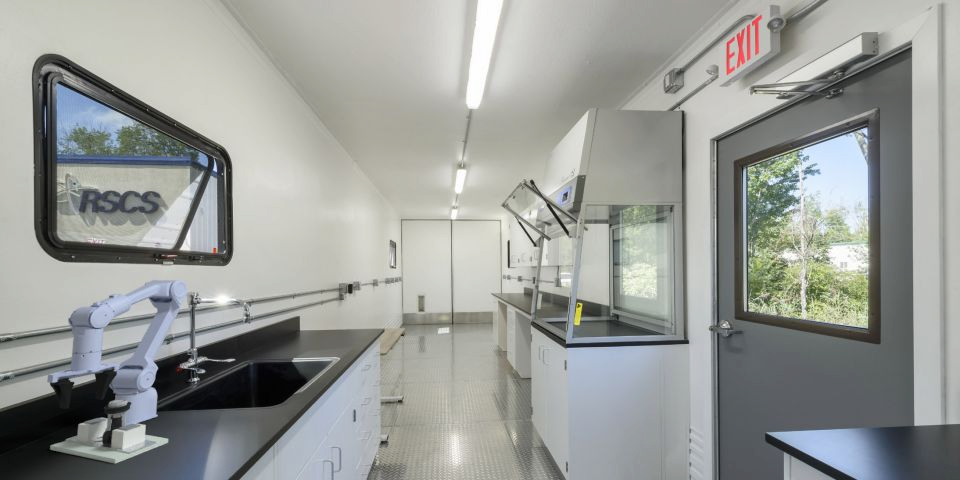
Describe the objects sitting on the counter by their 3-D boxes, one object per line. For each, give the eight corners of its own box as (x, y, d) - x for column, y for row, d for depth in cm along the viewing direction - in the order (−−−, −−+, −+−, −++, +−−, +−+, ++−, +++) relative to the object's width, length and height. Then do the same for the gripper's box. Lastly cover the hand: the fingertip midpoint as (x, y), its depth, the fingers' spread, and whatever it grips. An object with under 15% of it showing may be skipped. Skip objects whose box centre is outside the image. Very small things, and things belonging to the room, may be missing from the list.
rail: (93, 431, 109) (93, 430, 109) (156, 443, 102) (156, 441, 102) (65, 440, 103) (65, 439, 103) (129, 453, 96) (130, 451, 96)
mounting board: (106, 431, 112) (106, 427, 112) (168, 442, 105) (168, 438, 105) (50, 449, 100) (50, 445, 100) (115, 463, 93) (115, 459, 94)
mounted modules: (100, 432, 108) (101, 416, 108) (144, 440, 103) (145, 423, 103) (77, 440, 103) (78, 423, 103) (122, 449, 98) (123, 431, 98)
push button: (91, 448, 98) (95, 407, 99) (95, 440, 102) (99, 401, 103) (127, 441, 102) (130, 402, 103) (130, 434, 106) (132, 396, 107)
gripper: (62, 358, 99) (57, 414, 98) (128, 347, 113) (124, 396, 111) (44, 356, 101) (38, 411, 99) (110, 346, 115) (106, 394, 113)
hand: (82, 403), depth 106 cm, fingers open, 7 cm apart
